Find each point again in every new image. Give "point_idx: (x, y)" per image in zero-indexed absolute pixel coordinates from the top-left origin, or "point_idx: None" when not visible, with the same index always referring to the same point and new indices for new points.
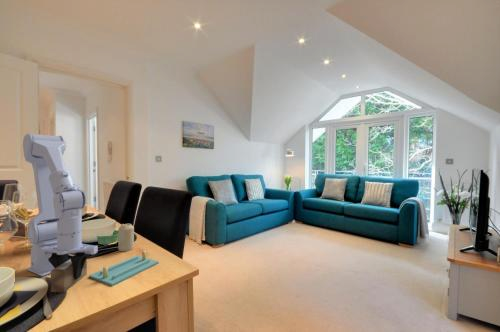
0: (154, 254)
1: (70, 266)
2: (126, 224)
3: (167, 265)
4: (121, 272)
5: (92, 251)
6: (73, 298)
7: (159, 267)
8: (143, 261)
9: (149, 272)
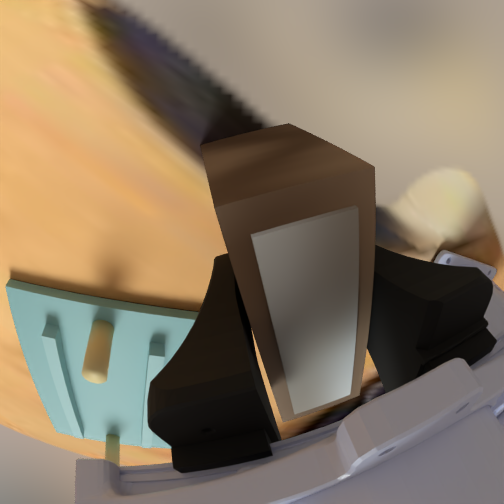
0: (133, 455)
1: (243, 301)
2: None
3: (20, 416)
4: (51, 365)
5: (87, 487)
6: (73, 110)
7: (25, 408)
8: (79, 429)
9: (13, 383)
